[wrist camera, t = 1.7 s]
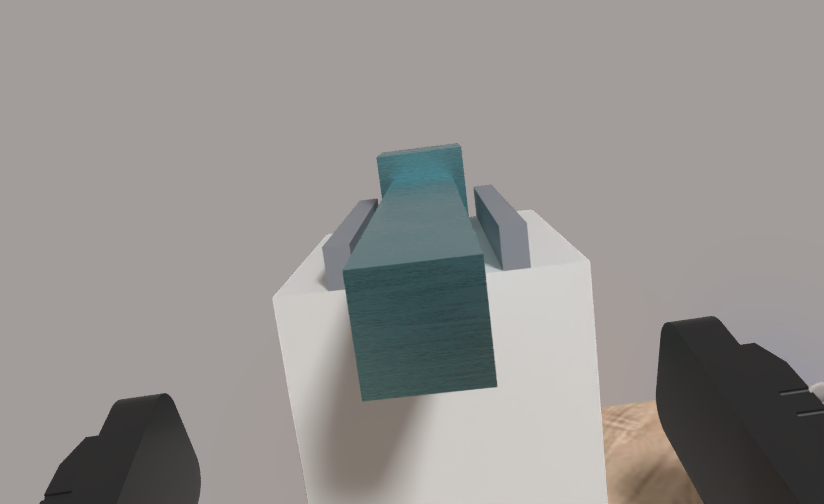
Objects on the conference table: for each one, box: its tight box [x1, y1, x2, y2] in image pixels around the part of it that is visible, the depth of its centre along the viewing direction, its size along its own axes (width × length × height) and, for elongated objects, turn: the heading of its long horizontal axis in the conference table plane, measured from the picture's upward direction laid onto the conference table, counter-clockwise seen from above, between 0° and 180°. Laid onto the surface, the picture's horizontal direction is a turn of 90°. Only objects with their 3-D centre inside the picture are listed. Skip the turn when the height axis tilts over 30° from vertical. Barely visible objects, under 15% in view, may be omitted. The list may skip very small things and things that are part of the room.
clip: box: [342, 143, 498, 402], centre depth 30 cm, size 28×5×5 cm, turn 179°
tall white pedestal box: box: [272, 185, 608, 504], centre depth 39 cm, size 16×14×34 cm
